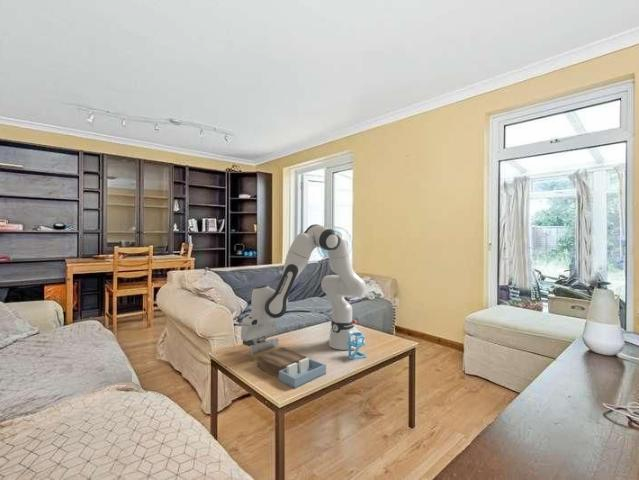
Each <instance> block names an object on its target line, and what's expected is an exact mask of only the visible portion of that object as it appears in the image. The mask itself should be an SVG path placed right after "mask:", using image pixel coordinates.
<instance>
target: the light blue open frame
mask: <svg viewBox="0 0 639 480" xmlns="http://www.w3.org/2000/svg"><path fill="white" fill-rule="evenodd" d="M352 335H355V336H356V337H355V340H354V341H351V339H350V337H351V336H352ZM357 336H358V338H357ZM348 337H349V342H348V343H347V344H348V345H349V350H348V357H347V358H348V359H349V358H350V357H351V360H352V359H353V360H359V359H365V358H364V357H366V358H368V355H367V354H365V353H362V352H359V350H360V348H362V347H364V346H366V342H365V343H364V340H365V338H366V336H365V335H364V334H363V333H362V332H360V333H359V332H357V333H351V334H350V335H349V336H348ZM360 338H361V339H362V342H360V341H358V340H359V339H360ZM351 346H353V347H355V348H356V350H354V351H353V352H352V350H351ZM357 354H358V355H357ZM358 358H359V359H358Z"/></svg>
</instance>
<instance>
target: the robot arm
mask: <svg viewBox="0 0 639 480" xmlns="http://www.w3.org/2000/svg"><path fill="white" fill-rule="evenodd" d="M316 248H320V249H322V250H325V251H327V257H328V261H329V262H328V263H329V268H330V270H331V272H333V273H335V274H330V275H329V274H328V275H325V276H324V277H323V278H322V279H321V283H320V286H321V287H320V288H321V289H322V291H323V293H325V294H326V296H327V297H328V299H329V300H330V303H331V313H332V314H331V315H332V317H331V318H332V319H331V322H330V326H331V328H330V332H329V337H328V338H329V339H328V340H327V342H328V346H329V347H330V348H332V349H335V350H341V351H346V350H347V351H349V345H348V344H347V343H348V342H349V337H348V336H349V335H350V334H351V333H357V332H359V333H361V330H358V328H356V326H355V325H354V324H357V323H358V321H357V320H356V319H353V306H352V305H351V303H350V302H348V301H347V300H346V299H345V297H350V298H357V297H360V298H361V297H362V296H363V295H364V294H365V292H366V288H367V285H366V283H365V281H364V279H363V278H361V277H360V276H358V274H357V273H356V272H355V270H354V269H353V267H352V264H351V259H350V253H349V246H348V243H347V240H346V237H345V236H344V235H343V234H341V233H337V232H336V230H334V229H331V228H330V227H328V226H324V225H320V224H311V225H309V226H308V227H307V228H306V230H305V231H304V232H300V233H298V234H297V235H296V237H295V238H294V240H293V241H292V243H291V245H290V247H289V249H288V251H287V254H286V257H285V259H284V264H283V265H284V266H283V271H282V275H281V278H280V280H279V283H278V284H277V287H276V289H273V288H271V287H270V286H269V285H267V284H264V285H263V284H261V285H258V286H256V287H254V288H253V290H252V292H251V293H252V294H251V302H250V303H251V311H250V314H249V315H247V316H246V317H244V318H242V325H241V328H240V338H241V339H240V340H242V341H243V340H244V341H249V340H253V342H254V344H258V343H257V341H256V340H257V339H260V338H262V339H261V340H264V341H267V338H268V336H270V335H273V334H276V333H277V332H278V323H277V319H278V318H281V317H283V316H284V315H285V314H286V311H287V308H288V307H287V306H288V304H289V294H290V292H291V290H292V288H293V285H294V283H295V281H296V280H297V278H298V276H300V274H301V273H302V272H303V271H304V269H305V268H306V266H307V265H308V263H309V260H310V258H311V255H312V252H313V251H314V250H315V249H316ZM355 337H356V336H355V335H352V336H351V337H350V339H351V341H354V340H355ZM357 338H358V336H357ZM362 339H363V338H360V339H359V340H358V341H360V342H362ZM364 343H365V344H366V340H365V339H364ZM351 351H356V348H355V347H353V346H351Z"/></svg>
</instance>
